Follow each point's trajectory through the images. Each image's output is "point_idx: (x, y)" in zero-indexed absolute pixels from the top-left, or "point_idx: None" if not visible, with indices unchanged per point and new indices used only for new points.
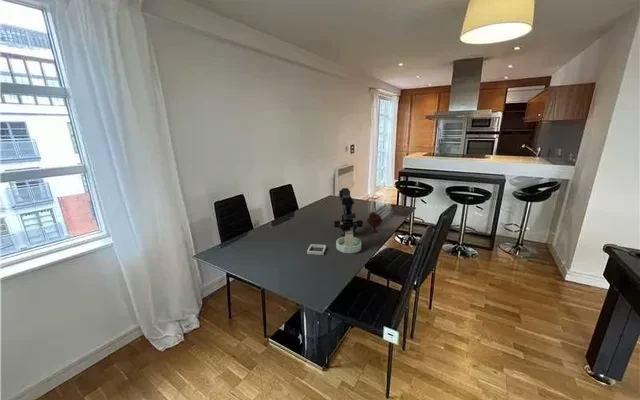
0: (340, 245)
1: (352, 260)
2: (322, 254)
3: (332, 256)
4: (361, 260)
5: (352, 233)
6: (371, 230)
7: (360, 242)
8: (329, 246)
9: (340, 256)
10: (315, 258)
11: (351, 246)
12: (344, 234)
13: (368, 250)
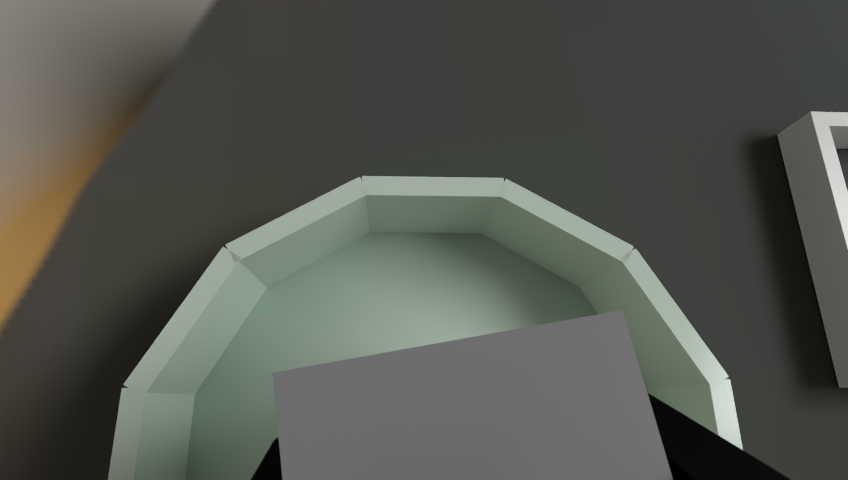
0: (596, 232)
1: (337, 32)
2: (792, 130)
3: (634, 108)
4: (207, 43)
5: (306, 370)
6: None
7: (133, 461)
8: (797, 450)
9: (521, 119)
10: (833, 38)
11: None
12: None
13: (40, 386)
